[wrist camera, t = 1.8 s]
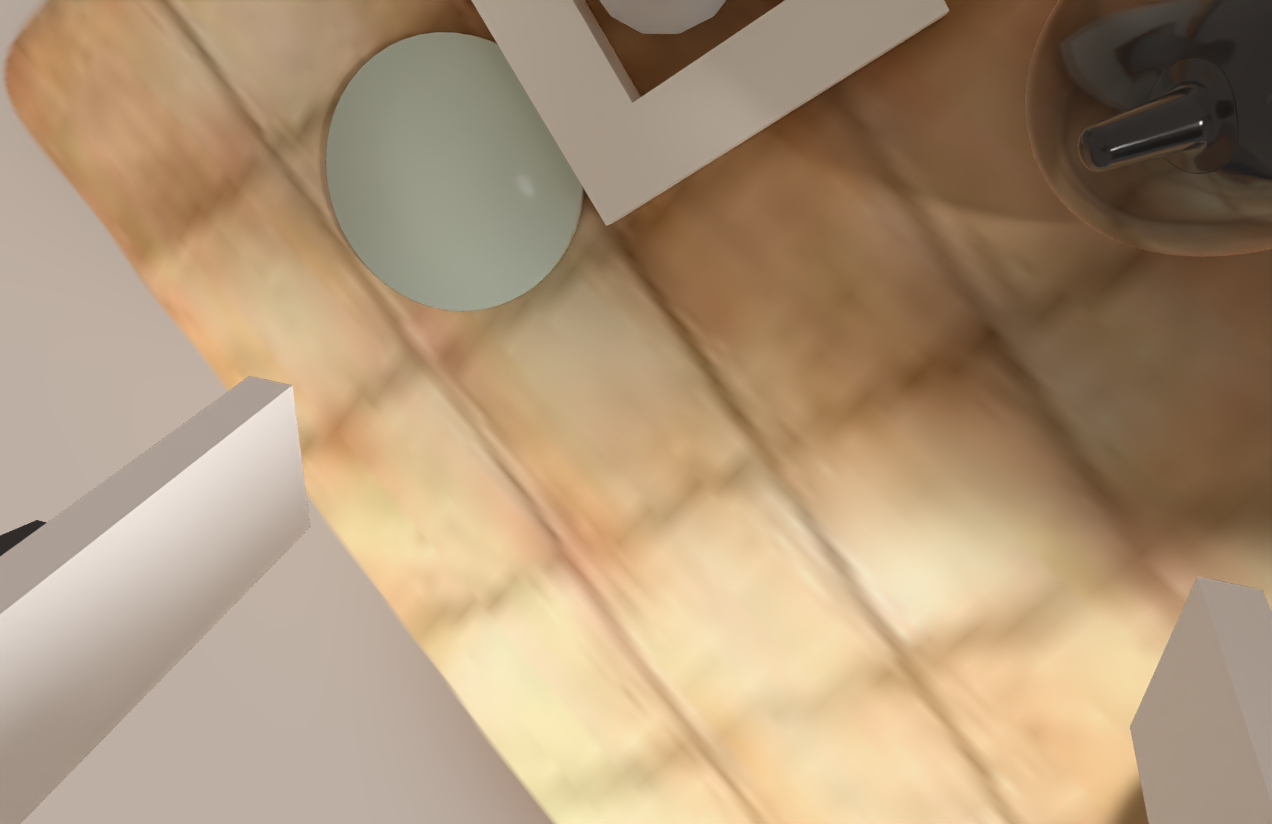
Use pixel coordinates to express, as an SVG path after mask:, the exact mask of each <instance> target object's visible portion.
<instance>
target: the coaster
mask: <svg viewBox="0 0 1272 824" xmlns="http://www.w3.org/2000/svg"><path fill="white" fill-rule="evenodd" d="M326 173H327V183H328V189H329V194H330V199H331V202H332V205H333V209H334V212H335V215H336V218H337V220H338V222H339V225H340V227H341V229H342V231H343V233H344V235H345V237H346V238H347V240H348V242H349V244H350V246H351V247H352V248H353V250H354V251H355V253H356V254H357V255H358V257H359V258H360V259H361V261H362V262H363V263H364V264H365V265H366V266H367V267H368V268H369V269H370V271H371V272H372V273H373V274H374V275H376V276H377V277H378V278H379V279H380V280H381V281H383V282H384V283H385V284H386V285H388V286H389V287H391V288H392V289H394V290H395V291H396V292H398V293H399V294H401V295H403V296H405V297H407V298H409V299H411V300H413V301H415V302H418V303H421V304H424V305H427V306H429V307H434V308H438V309H443V310H451V311H477V310H482V309H487V308H492V307H495V306H498V305H501V304H504V303H507V302H509V301H511V300H513V299H515V298H517V297H518V296H520V295H522V294H524V293H526V292H528V291H529V290H530V289H532V288H533V287H534V286H536V285H537V284H539V283H540V282H541V281H542V280H543V279H544V278H545V277H546V276H547V275H548V274H549V273H550V272H551V271H552V270H553V269H554V268H555V266H556V265H557V264H558V262H559V261H560V260H561V259H562V257H563V255H564V254H565V252H566V250H567V249H568V247H569V245H570V243H571V241H572V239H573V236H574V234H575V231H576V229H577V226H578V223H579V219H580V215H581V211H582V206H583V198H584V188H583V186H582V185H581V183H580V181H579V180H578V178H577V176H576V175H575V173H574V171H573V170H572V168H571V166H570V165H569V163H568V161H567V160H566V158H565V156H564V155H563V153H562V151H561V150H560V148H559V146H558V145H557V143H556V141H555V139H554V138H553V136H552V134H551V133H550V131H549V129H548V128H547V126H546V124H545V123H544V121H543V119H542V118H541V116H540V114H539V113H538V111H537V109H536V108H535V106H534V104H533V103H532V101H531V99H530V98H529V96H528V94H527V93H526V91H525V89H524V88H523V86H522V84H521V83H520V81H519V79H518V78H517V76H516V74H515V73H514V71H513V69H512V68H511V66H510V64H509V63H508V61H507V59H506V58H505V56H504V54H503V53H502V51H501V49H500V47H499V46H498V44H497V43H496V42H494V41H490V40H487V39H484V38H481V37H478V36H473V35H467V34H461V33H454V32H435V33H427V34H420V35H416V36H413V37H409V38H406V39H403V40H401V41H399V42H397V43H394V44H392V45H390V46H388V47H387V48H385V49H384V50H382V51H381V52H379V53H378V54H376V55H375V56H373V57H372V58H371V59H370V60H369V61H368V62H367V63H366V64H365V65H363V66H362V67H361V69H360V70H359V71H358V72H357V73H356V75H355V76H354V77H353V78H352V79H351V81H350V82H349V84H348V86H347V87H346V89H345V90H344V92H343V94H342V95H341V98H340V100H339V102H338V104H337V107H336V109H335V111H334V115H333V118H332V121H331V124H330V128H329V134H328V140H327V148H326Z"/></svg>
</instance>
